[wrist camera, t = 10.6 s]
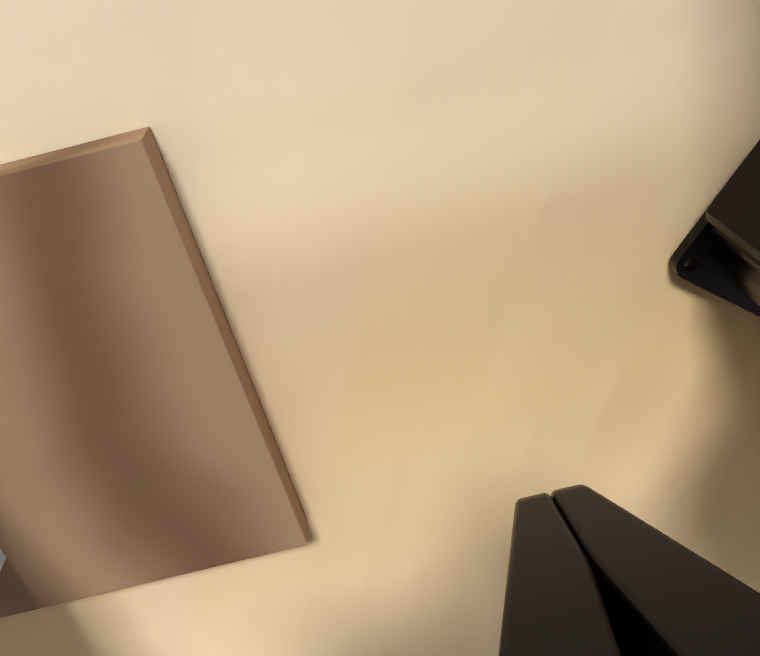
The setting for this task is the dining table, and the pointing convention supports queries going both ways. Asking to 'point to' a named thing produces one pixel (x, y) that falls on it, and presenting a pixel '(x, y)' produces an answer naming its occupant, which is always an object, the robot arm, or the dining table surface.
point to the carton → (2, 559)
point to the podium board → (121, 388)
